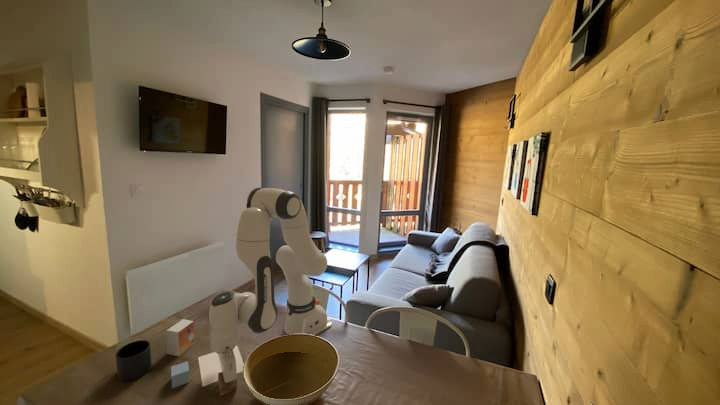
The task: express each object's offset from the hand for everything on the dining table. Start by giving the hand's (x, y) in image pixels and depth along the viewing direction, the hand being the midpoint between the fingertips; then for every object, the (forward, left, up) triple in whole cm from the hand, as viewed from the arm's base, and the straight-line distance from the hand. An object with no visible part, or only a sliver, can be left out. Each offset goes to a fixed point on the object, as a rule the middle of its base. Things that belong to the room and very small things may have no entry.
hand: (226, 374), depth 95 cm
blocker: (0, +4, -2) cm, 4 cm away
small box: (+12, -26, -2) cm, 29 cm away
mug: (+27, -22, -2) cm, 35 cm away
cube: (+13, -8, -2) cm, 15 cm away
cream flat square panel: (0, -9, -2) cm, 9 cm away
